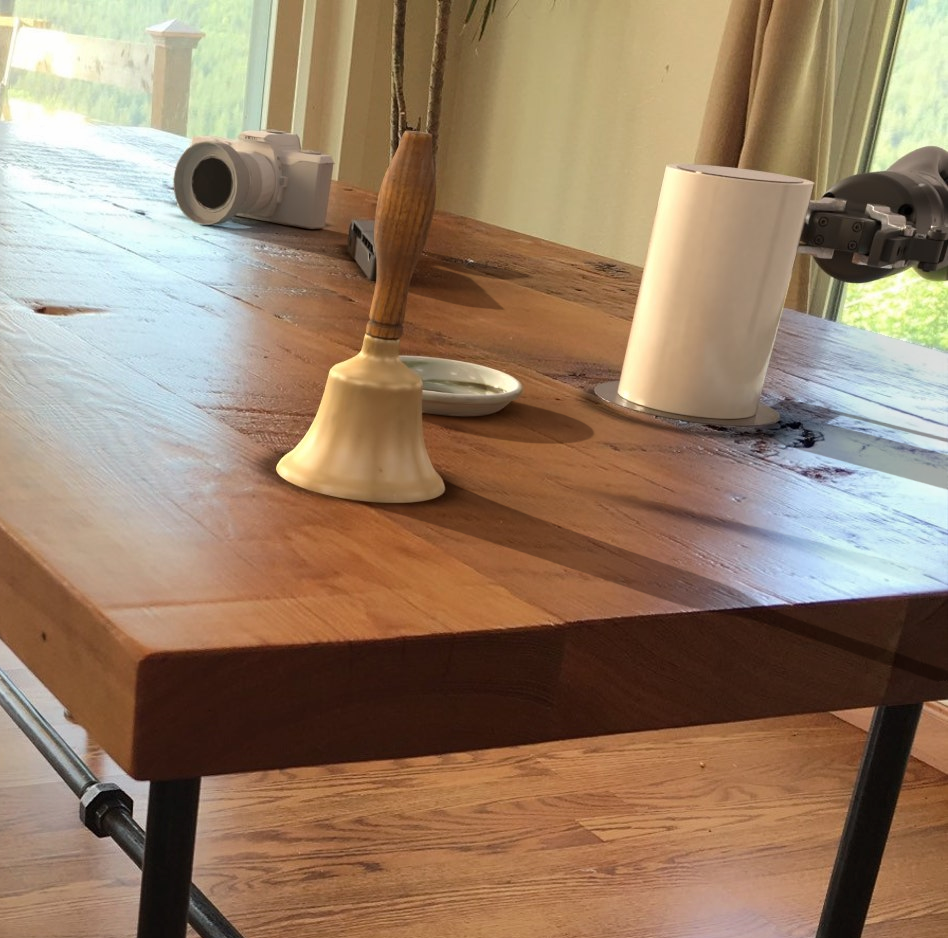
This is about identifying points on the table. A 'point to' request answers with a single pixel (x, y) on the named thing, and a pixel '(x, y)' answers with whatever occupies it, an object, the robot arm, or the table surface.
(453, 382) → the saucer
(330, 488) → the hand bell
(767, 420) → the disc
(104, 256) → the table surface
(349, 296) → the table surface
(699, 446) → the table surface
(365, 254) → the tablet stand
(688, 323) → the tall white cylinder
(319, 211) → the digital camera
